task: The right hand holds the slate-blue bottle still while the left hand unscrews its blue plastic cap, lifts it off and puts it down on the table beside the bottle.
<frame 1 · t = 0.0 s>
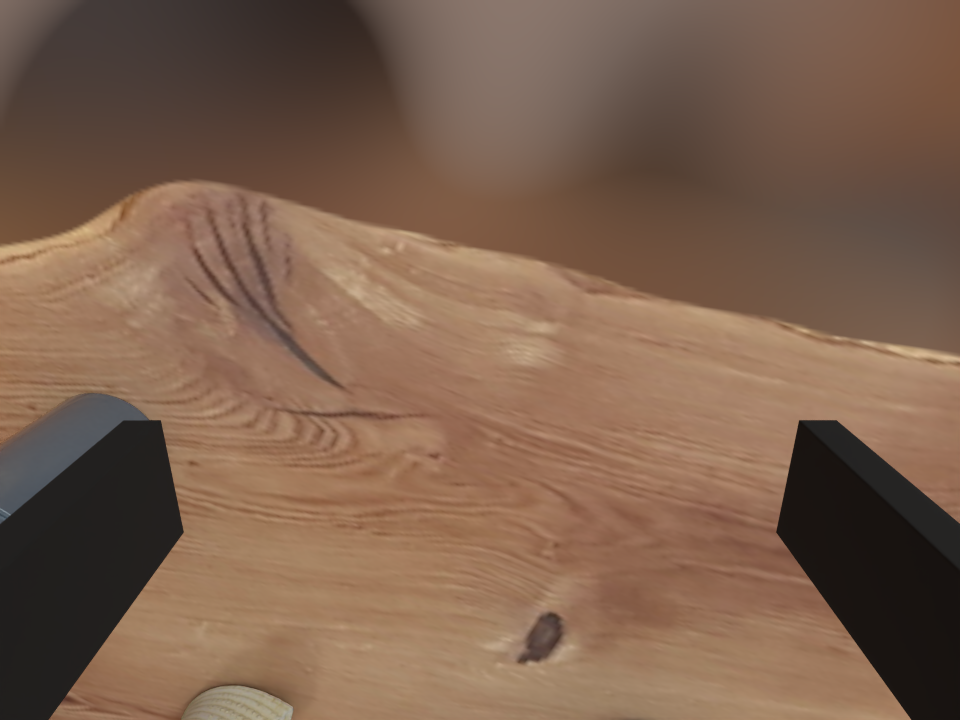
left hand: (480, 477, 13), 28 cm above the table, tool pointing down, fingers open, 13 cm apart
seashell: (241, 715, 54), on the table
bottle: (105, 444, 44), on the table
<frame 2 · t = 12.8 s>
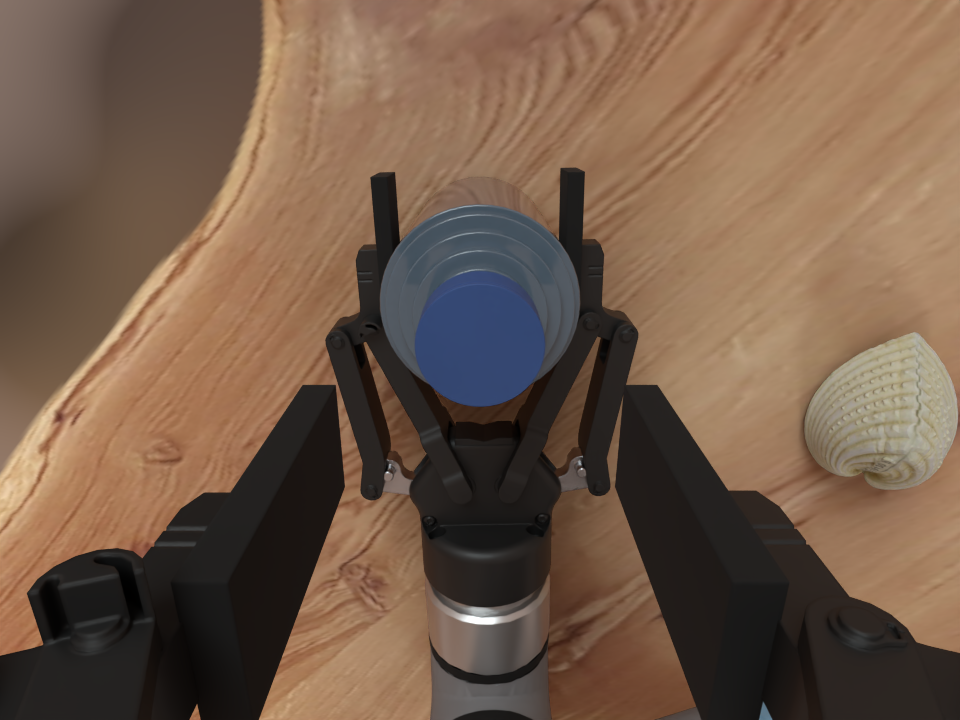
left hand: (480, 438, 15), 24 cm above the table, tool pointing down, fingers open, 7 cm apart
right hand: (477, 172, 29), fingers closed on bottle, 8 cm apart
seashell: (867, 406, 40), on the table
bottle: (480, 247, 37), on the table, touching right hand
cap: (479, 344, 21), point 17 cm above the table, screwed on, not yet turned
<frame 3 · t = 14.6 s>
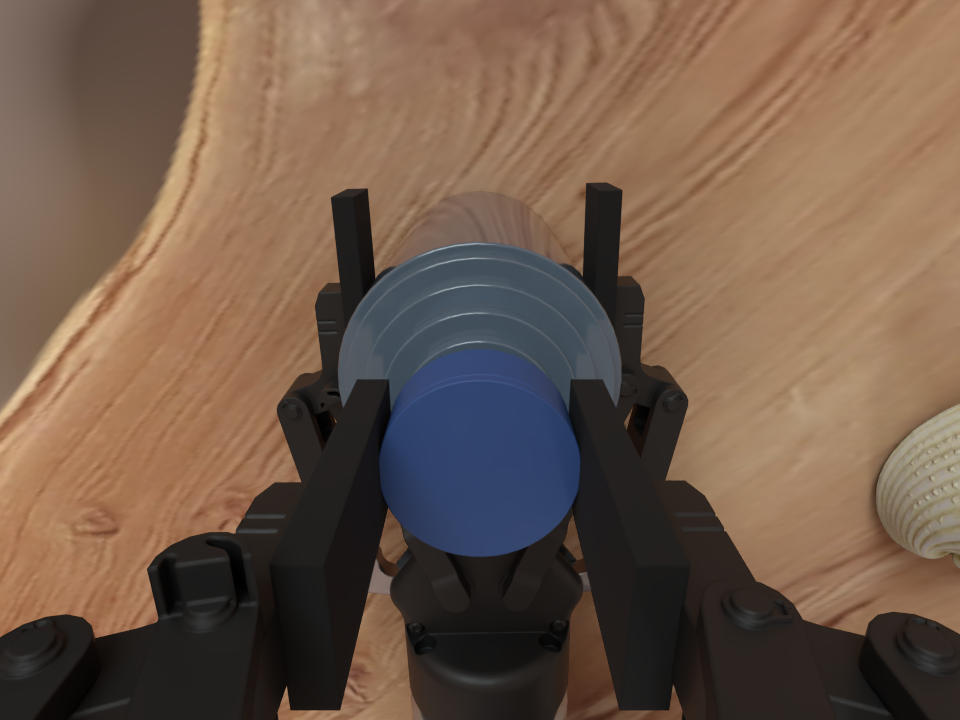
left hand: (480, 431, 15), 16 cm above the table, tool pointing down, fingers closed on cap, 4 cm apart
seashell: (952, 469, 33), on the table
bottle: (479, 279, 29), on the table, touching right hand
cap: (479, 466, 13), point 17 cm above the table, screwed on, not yet turned, touching left hand
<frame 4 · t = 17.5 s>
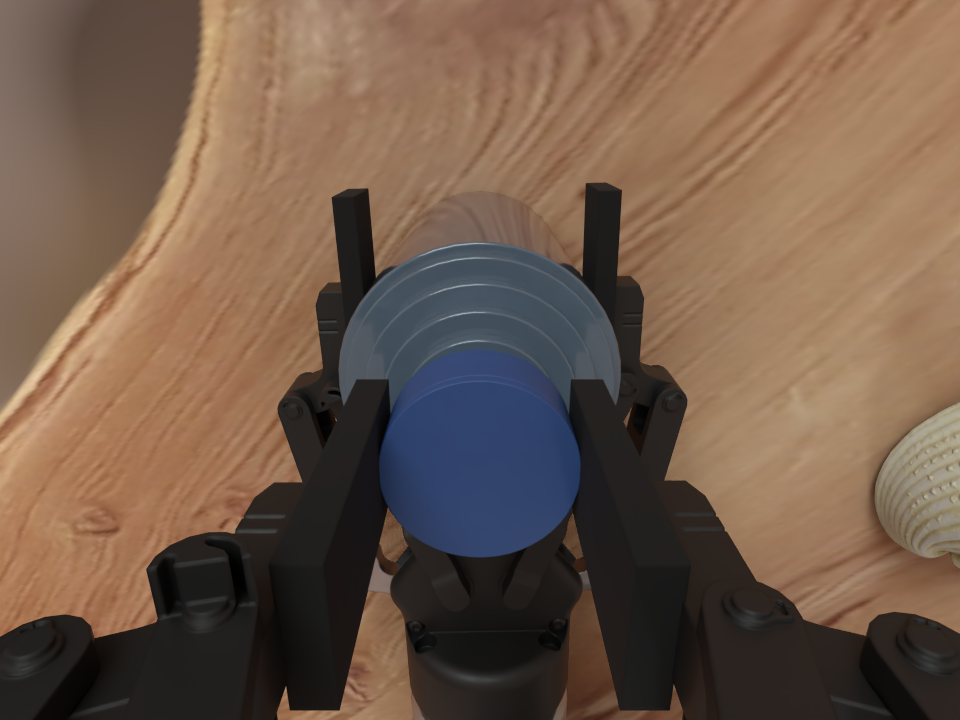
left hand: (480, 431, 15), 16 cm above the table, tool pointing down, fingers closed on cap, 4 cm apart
seashell: (951, 469, 33), on the table
bottle: (479, 279, 30), on the table, touching right hand
cap: (479, 467, 13), point 17 cm above the table, turned 91° so far, risen 0.1 cm, still on its thread, touching left hand
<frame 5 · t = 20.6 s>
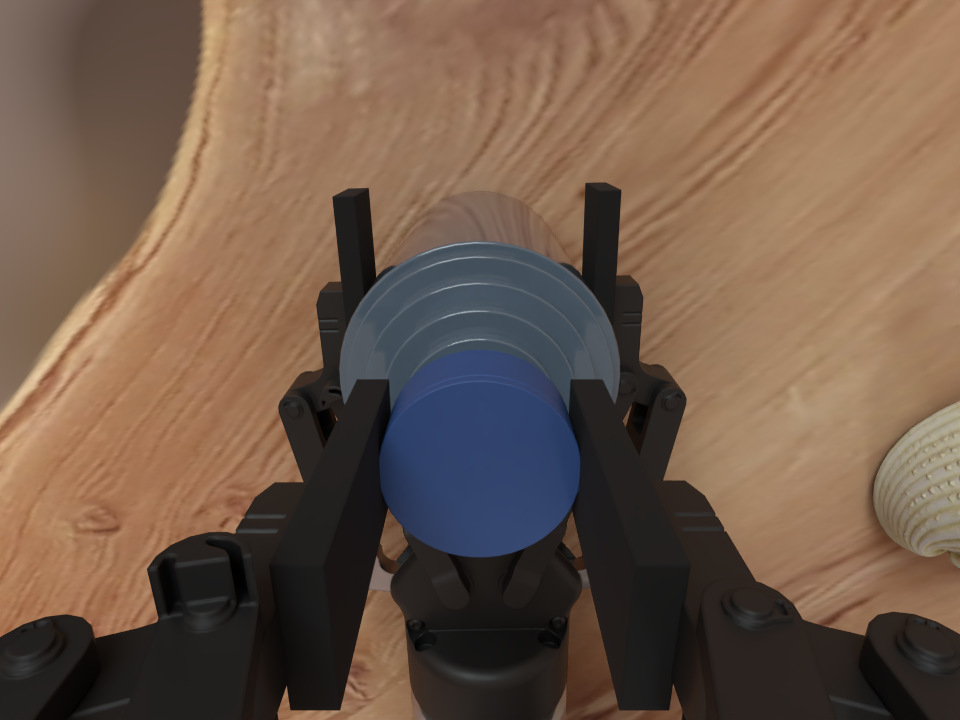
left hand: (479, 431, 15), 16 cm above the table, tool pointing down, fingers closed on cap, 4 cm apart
seashell: (949, 468, 33), on the table
bottle: (479, 278, 30), on the table, touching right hand
cap: (479, 467, 13), point 17 cm above the table, turned 183° so far, risen 0.2 cm, still on its thread, touching left hand
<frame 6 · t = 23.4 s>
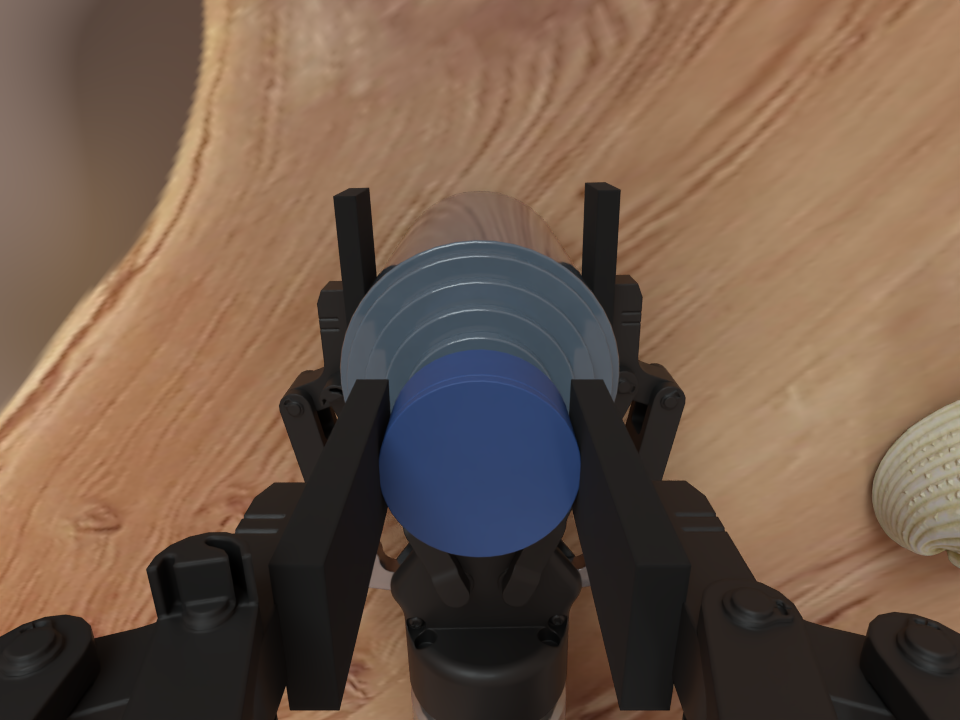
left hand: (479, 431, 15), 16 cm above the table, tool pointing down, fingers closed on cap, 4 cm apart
seashell: (948, 467, 33), on the table
bottle: (479, 278, 30), on the table, touching right hand
cap: (479, 467, 13), point 17 cm above the table, turned 274° so far, risen 0.3 cm, still on its thread, touching left hand
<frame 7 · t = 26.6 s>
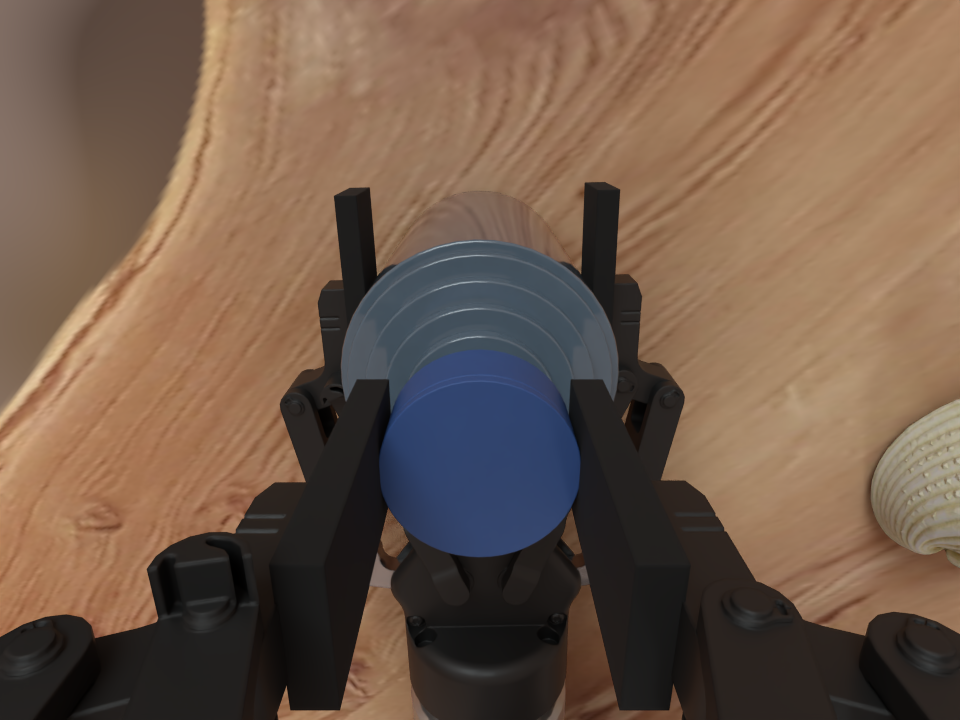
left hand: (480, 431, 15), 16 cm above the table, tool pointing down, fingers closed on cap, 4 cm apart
seashell: (946, 466, 34), on the table
bottle: (479, 277, 30), on the table, touching right hand
cap: (479, 467, 13), point 18 cm above the table, turned 365° so far, risen 0.4 cm, still on its thread, touching left hand
when the left hand's fingers open (1 cm above the table, at t = 33.2 s): cap drops 1 cm, point 2 cm above the table.
when the right hand's fingers open (7 cm above the table, at t = 34.5 s): bottle stays where it is, on the table.
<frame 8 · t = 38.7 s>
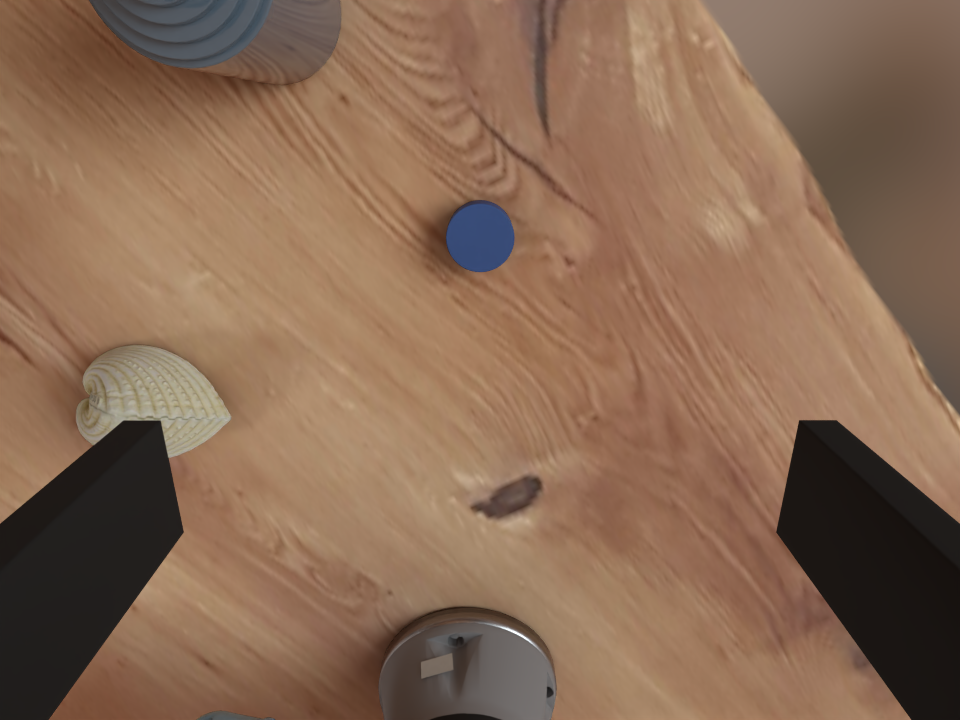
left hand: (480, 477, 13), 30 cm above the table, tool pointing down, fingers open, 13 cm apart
seashell: (160, 396, 45), on the table
bottle: (272, 9, 36), on the table
cap: (480, 237, 40), point 2 cm above the table, off its thread
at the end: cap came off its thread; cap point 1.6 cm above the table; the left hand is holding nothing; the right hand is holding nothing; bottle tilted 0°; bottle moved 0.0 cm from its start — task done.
